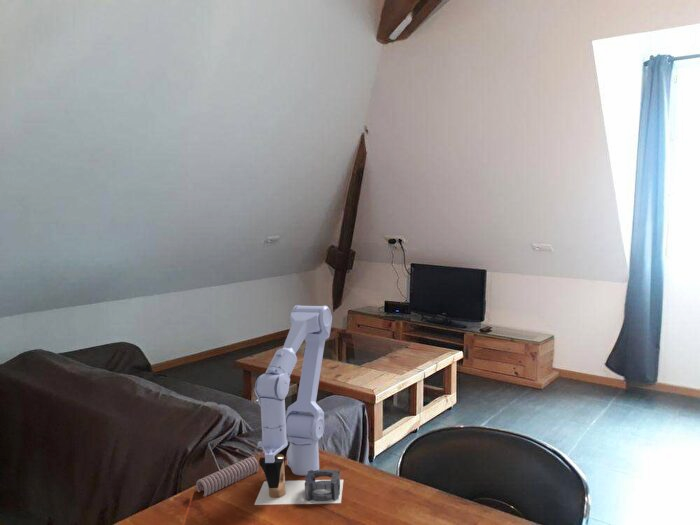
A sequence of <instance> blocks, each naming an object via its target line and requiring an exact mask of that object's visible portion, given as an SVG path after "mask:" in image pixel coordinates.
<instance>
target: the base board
mask: <svg viewBox="0 0 700 525" xmlns="http://www.w3.org/2000/svg"><path fill="white" fill-rule="evenodd" d="M330 480H331V479H315V481H316V482H317V481H330ZM343 486H344V479H340V495H339V499H337V500H335V501H334V500H329V501H314V500H310V501H307V500H305V479H304V480H303V479H302V480H301V479H300V480H285V489H286V494H285V495H284V496H283V497H280V498H271V497H270V496H269V489H268V483H267V480H266V481H263V483H262V486H261V488H260V490H259V493H258V495H257V496H256V499H255V502H254V506H262V505H263V506H265V505H266V506H268V505H270V506H271V505H272V506H274V505H311V504H312V505H313V504H315V505H318V504H319V505H320V504H321V505H322V504H342V496H343ZM313 492H314V493H318V494H326V493H329V492H331V488H329V489H319V490H317V489H315V490H314V491H313Z"/></svg>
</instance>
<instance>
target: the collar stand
mask: <svg viewBox="0 0 700 525" xmlns="http://www.w3.org/2000/svg"><path fill="white" fill-rule="evenodd" d="M340 475H341V474H340V470H339V469H328V468H327V469H319V470H316V471H313V470H310V471H308V474H307V475H305V477H304V478H305V479H304V480H305V500H307V501H310V500H314V501H329V500H334V501H335V500H337V499H339V495H340V480H341V478H340V477H341V476H340ZM320 477H329V478H331V479H329V480H330V481H317V482H316V481H315V480H316V479H317V478H320ZM329 488H331V492H329V493H326V494H318V493H314V492H313V491H314V490H315V489H317V490H319V489H329Z"/></svg>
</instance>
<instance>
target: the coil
mask: <svg viewBox="0 0 700 525" xmlns="http://www.w3.org/2000/svg"><path fill="white" fill-rule="evenodd" d="M259 467H260V466H259V461H258V460H257V459H256V458H255V457H254V456H249V457H247V458H245V459H243V460H240V461H238V462H235V463H234V464H231V465H229V466H227V467H225V468H222V469H220V470H218V471H215V472H213V473H211V474H208V475H207V476H205V477H202V478H200V479H198V480H197V481H196V483H195V484H196V485H195V486H196V491H197V492H198V493H201V492H202V491H203V492H204V493H203V497H208V496H209V495H211V494H214V493H215V492H216V493H217V492H218V491H220V490H221V489H224V488H226V487H228V486H231V485H233V484H234V483H237V482H239V481H240V480H243V479H246V478H247V477H249V476H252V475H254V474H256V473H258V472H259V469H260V468H259Z"/></svg>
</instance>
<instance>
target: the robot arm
mask: <svg viewBox="0 0 700 525" xmlns="http://www.w3.org/2000/svg"><path fill="white" fill-rule="evenodd" d="M289 319H290V320H289V321H290V329H289V330H288V333H287V337H286V338H285V341H284V344H283V347H282V348H278V349H277V350H276V351H275V353H274V355H273V357H272V358H271V361H270V363H269V364H268V367H267V368H266V371H265V373H262V374H261V375H259V376H258V377H257V379H256V380H255V386H254V388H253V390H254V395H255V396H256V398H257V405H258V406H259V407H260V419H261V436H262V437H261V440H262V441H261V440H260V441H258V442H257V447H258V448H262V450H263V453H264V457H260V458H259V460H258V465H259V467H260V468H261V469H262V471H263V473H264V475H265V479H266V481H267V483H268V486H269V488H278V486H279V481H280V471H281V466H282V464H283V461H284V469H285V467H286V466H285V465H286V463H287V466H288V468H290V469H291V472H292V474H294V475H297V476H304V477H305V476H306V475H307V474H308V471H310V470H313V471H316V470H320V455H319V440H321V438H322V437H323V436H324V433H325V411H324V410H323V409H322V408H321V406H320V405H318V403H317V397H318V390H319V384H320V376H321V369H322V365H323V364H322V362H323V356H324V350H325V343H326V340H327V339H329V338H330V334H331V329H332V323H333V316H332V312H331V309H330V308H329V306H328V305H300V304H296V305H294V307H293V308H292V309H291V312H290V316H289ZM304 341H305V346H304V353H303V360H302V367H301V373H300V379H299V386H298V390H297V391H298V392H297V396H296V397H297V398H296V401H294V402H293V403H291V404H290V405H289V406H288V407H287V409H286V402H285V401H286V400H285V399H286V397H287V396H288V393H289V390H290V382H291V375H292V372H293V370H294V368H295V366H296V364H297V362H298V357H297V355H296V354H297V352H298V351H299V349H300V347H301V345H302V344H303V342H304ZM276 454H282V455H283V456H284V459H277V457H276ZM286 459H287V460H286Z"/></svg>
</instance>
